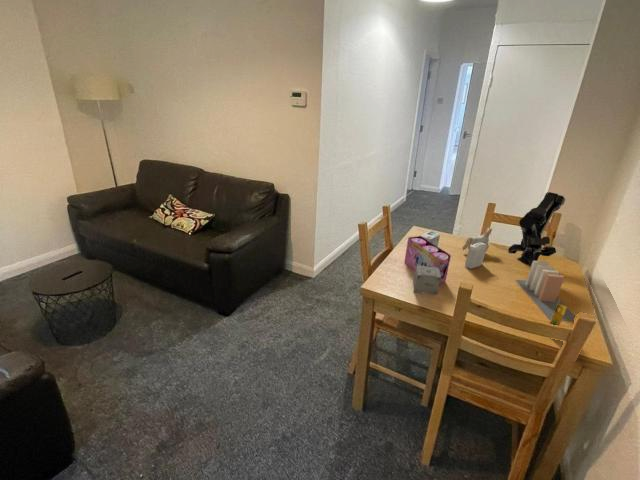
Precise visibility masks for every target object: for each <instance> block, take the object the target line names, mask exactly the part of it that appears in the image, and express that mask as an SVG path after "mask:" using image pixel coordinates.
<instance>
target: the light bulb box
mask: <svg viewBox="0 0 640 480" xmlns="http://www.w3.org/2000/svg"><path fill="white" fill-rule="evenodd" d="M419 236H422V237H423V238H425V239H426V240H428V241H429V242H431V243H432V244H434V245H435V246H437V247H438V246H439V241H440V237H441V234H440V233H437V232H435V231H431V230H428V231H426V232H424V233H422V234H419Z"/></svg>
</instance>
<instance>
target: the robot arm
mask: <svg viewBox="0 0 640 480" xmlns="http://www.w3.org/2000/svg"><path fill="white" fill-rule="evenodd" d="M565 201H566V198H565V197H564V195H561V194H558V193H557V192H556V193H555V192H551V191H549V192H546V193H545V194H544V197H543V199H542V200H541V201H540V203H539V204H538V205H537V206H536V207H533V208H531V209H530V210H529V211H528V212H526V213H525V215H524V216H523V217H522V218H520V219H519V221H518V223H519V226H520V227H519V228H520V229H521V234H522V239H521V241H520V244H519V243H518V244H517V243H513V244H512V245H511V246H509V247H508V249H507V251H508V254H516V253H518V252H521V256H520V257H518V258H517V260H518V261H520V262H522V263H526V265H530V266H531V265H532V262H533V261H539V257H540V256H541V257H551V256H552V255H555V254H556V253H557V249H556V247H554V246H547V245H550V243H551V240H550V236H543V237H542V235H543V233H544V231H545V229H546V228H547V225H548V224H549V221H550V220H551V218H552V216H553V214H554V213H555V212H557V211H559V210H560V209H561V207H562V206H564V205H565ZM543 246H545V247H543Z"/></svg>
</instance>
